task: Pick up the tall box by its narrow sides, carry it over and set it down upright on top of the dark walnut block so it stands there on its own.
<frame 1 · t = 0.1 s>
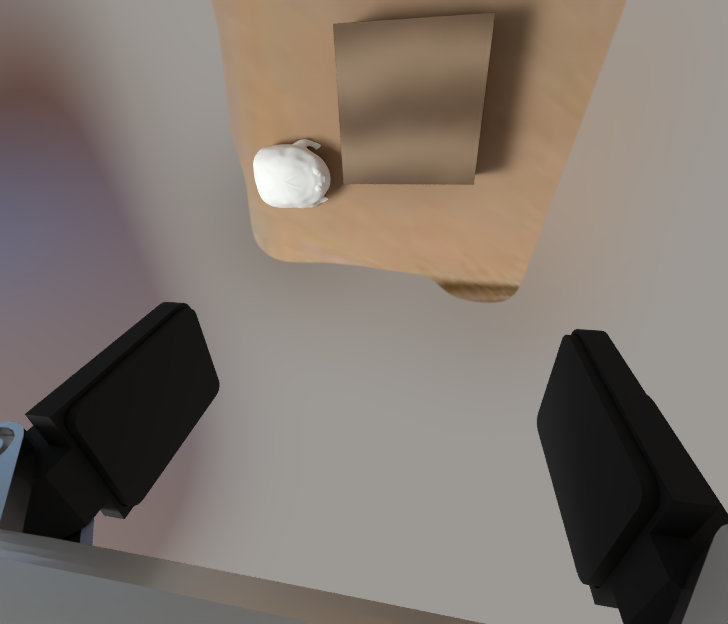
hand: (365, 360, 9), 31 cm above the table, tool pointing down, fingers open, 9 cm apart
walnut block: (411, 106, 34), on the table
garlic: (298, 173, 39), on the table
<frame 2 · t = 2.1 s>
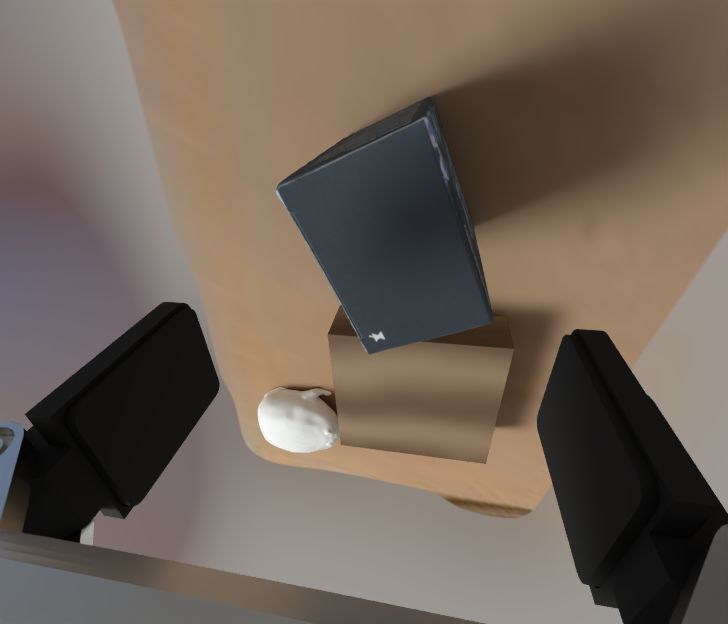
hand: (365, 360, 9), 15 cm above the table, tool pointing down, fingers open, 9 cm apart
box: (410, 183, 22), on the table
walnut block: (416, 368, 30), on the table
garlic: (307, 406, 35), on the table
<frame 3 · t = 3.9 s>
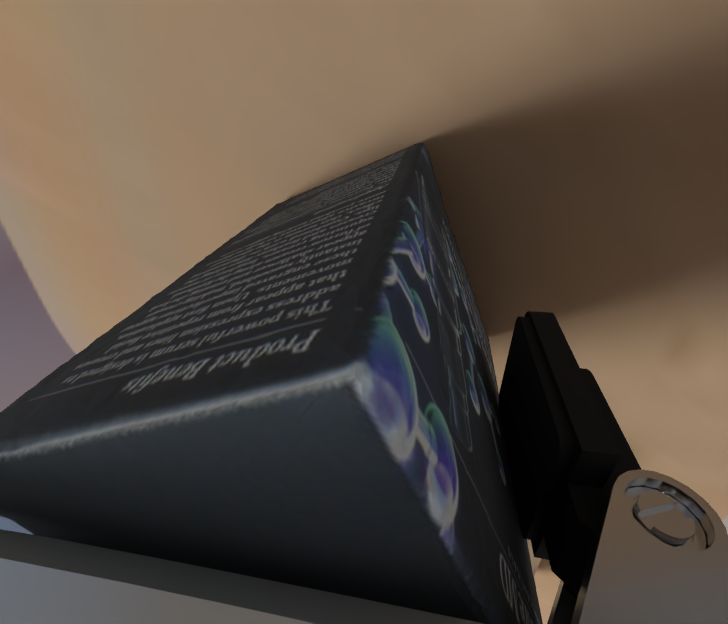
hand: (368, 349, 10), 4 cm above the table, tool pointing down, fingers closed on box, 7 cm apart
box: (388, 271, 14), on the table, touching gripper
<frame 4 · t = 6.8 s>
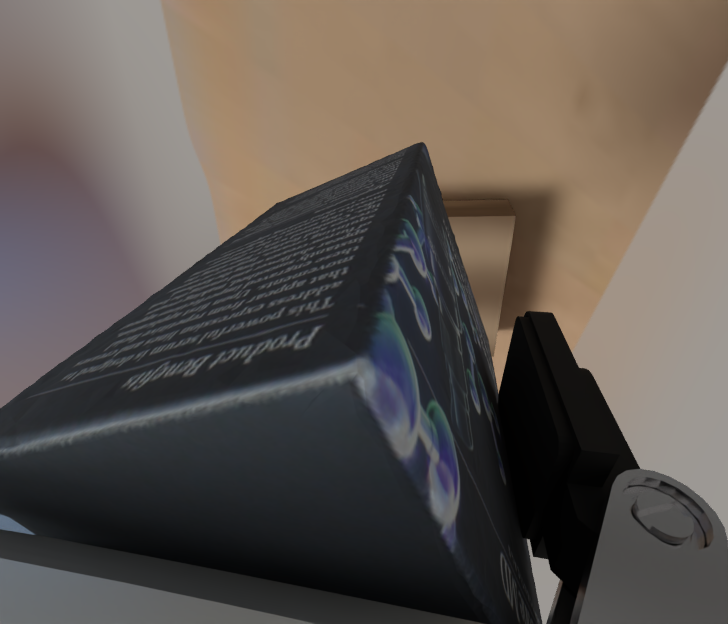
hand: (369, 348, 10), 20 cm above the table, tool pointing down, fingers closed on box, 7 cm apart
box: (388, 271, 14), point 16 cm above the table, touching gripper
walnut block: (423, 269, 31), on the table
when the fingers open (10 cm above the table, at t = 9.8 s): box drops 2 cm, resting on walnut block.
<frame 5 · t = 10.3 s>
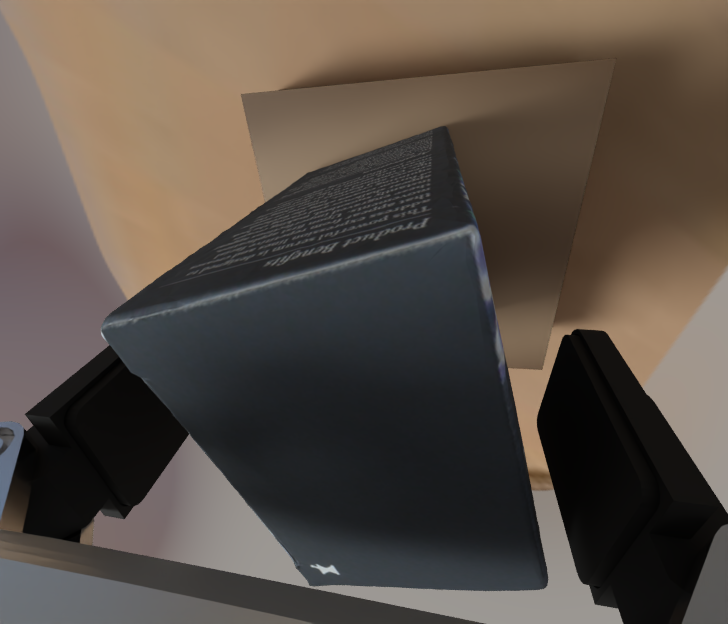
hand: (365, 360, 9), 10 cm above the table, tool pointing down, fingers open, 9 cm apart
box: (401, 243, 15), point 3 cm above the table, touching walnut block
walnut block: (417, 219, 18), on the table, touching box
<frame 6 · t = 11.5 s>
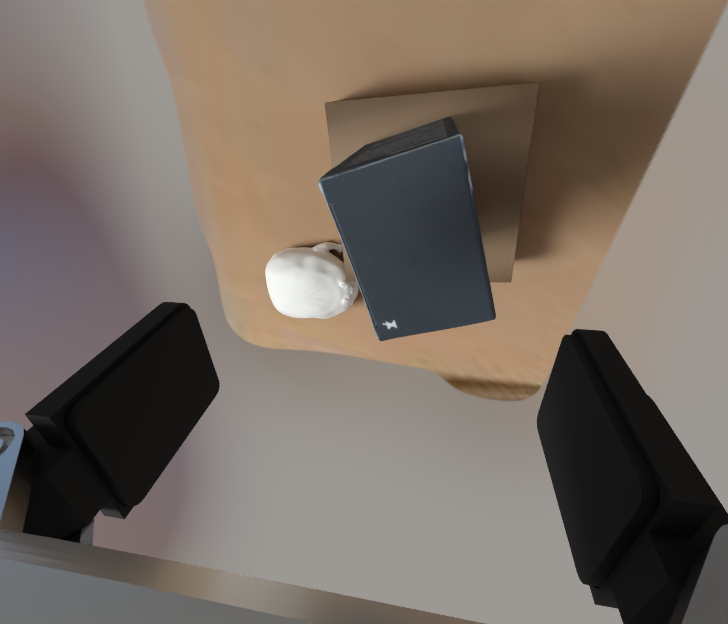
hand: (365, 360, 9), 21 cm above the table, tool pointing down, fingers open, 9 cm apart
box: (421, 192, 24), point 3 cm above the table, touching walnut block
walnut block: (427, 185, 27), on the table, touching box
garlic: (319, 275, 33), on the table
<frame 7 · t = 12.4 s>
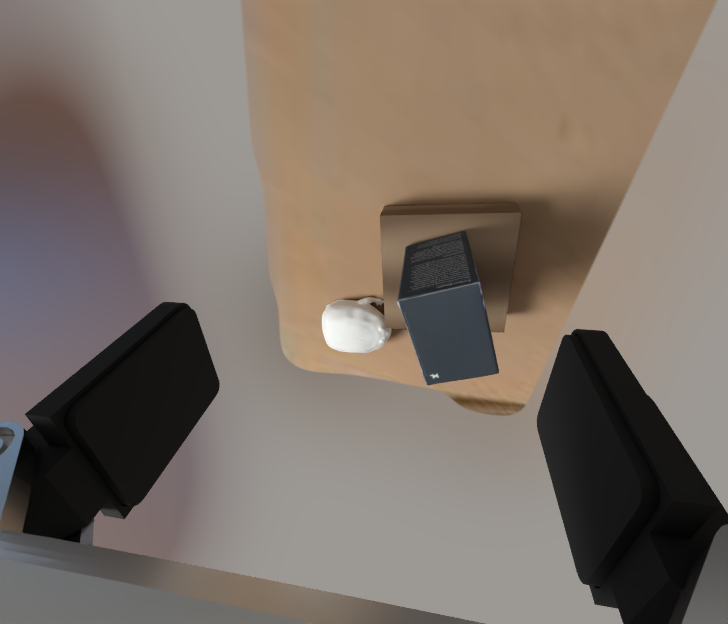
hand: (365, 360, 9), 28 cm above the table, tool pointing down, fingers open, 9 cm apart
box: (444, 274, 34), point 3 cm above the table, touching walnut block
walnut block: (444, 261, 38), on the table, touching box
garlic: (359, 319, 43), on the table
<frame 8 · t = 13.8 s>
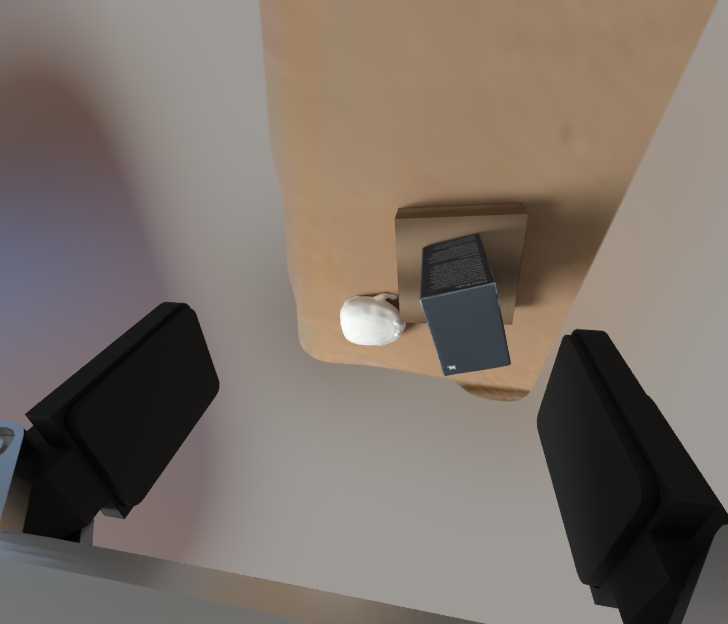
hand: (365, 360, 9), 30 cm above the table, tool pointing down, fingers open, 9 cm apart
box: (457, 272, 37), point 3 cm above the table, touching walnut block
walnut block: (455, 258, 40), on the table, touching box, garlic
garlic: (375, 313, 46), on the table, touching walnut block
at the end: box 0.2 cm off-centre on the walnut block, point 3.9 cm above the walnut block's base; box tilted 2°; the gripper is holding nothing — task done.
